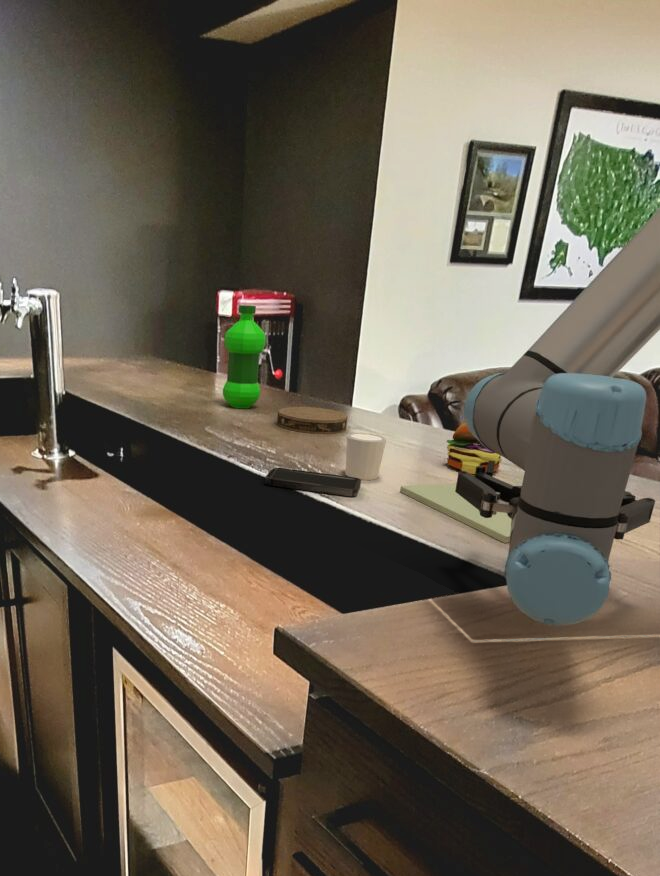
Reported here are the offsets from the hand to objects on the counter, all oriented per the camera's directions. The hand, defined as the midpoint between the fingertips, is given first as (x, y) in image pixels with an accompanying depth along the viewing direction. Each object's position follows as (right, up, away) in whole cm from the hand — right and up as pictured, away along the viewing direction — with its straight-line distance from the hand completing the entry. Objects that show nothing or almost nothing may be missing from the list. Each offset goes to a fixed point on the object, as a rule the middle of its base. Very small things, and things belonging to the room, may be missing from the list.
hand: (549, 479), depth 88 cm
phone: (-24, 0, +31) cm, 40 cm away
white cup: (-15, +2, +39) cm, 42 cm away
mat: (+2, -4, +24) cm, 24 cm away
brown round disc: (-18, +16, +79) cm, 82 cm away
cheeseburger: (+8, +4, +49) cm, 50 cm away
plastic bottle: (-34, +24, +98) cm, 106 cm away
